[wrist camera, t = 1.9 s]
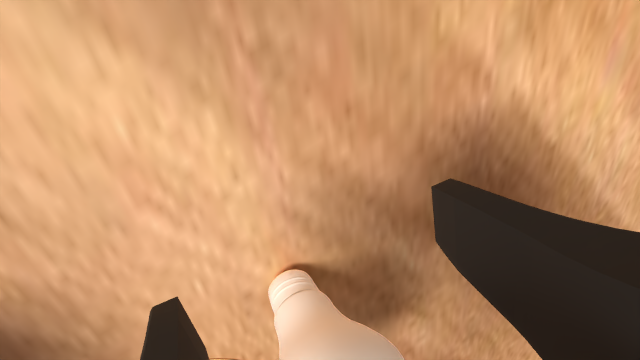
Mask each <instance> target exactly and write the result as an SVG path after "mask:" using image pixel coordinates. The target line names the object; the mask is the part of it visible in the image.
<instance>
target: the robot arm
mask: <svg viewBox="0 0 640 360" xmlns="http://www.w3.org/2000/svg"><path fill="white" fill-rule="evenodd" d="M432 200H433V212H434V225H435V238H436V242H437V244H438V245H439V246H440V248H441V249H442V251H443V252H444V253H445V255H446V256H447V257H448V259H449V260H450V261H451V262H452V264H453V265H454V266H455V267H456V269H457V270H458V271H459V272H460V273H461V274H462V275H463V276H464V277H465V278H466V279H467V280H468V281H469V282H470V283H471V284H472V285H473V286H474V287H475V288H476V289H477V290H478V291H479V292H480V293H481V294H482V295H483V296H484V297H485V298H486V299H487V300H488V301H489V302H490V303H491V304H492V305H493V306H494V307H495V308H496V309H497V310H498V311H499V312H500V313H501V314H502V315H503V316H504V317H505V318H506V319H507V320H508V321H509V322H510V323H511V324H512V325H513V326H514V327H515V328H516V329H517V330H518V331H519V332H520V334H521V335H522V336H523V337H524V338H525V339H526V340H527V341H528V343H529V344H530V345H531V346H532V347H533V349H534V350H535V351H536V352H537V353H538V355H539V356H540V357H541V358H542V360H640V232H634V231H628V230H622V229H617V228H612V227H607V226H603V225H598V224H594V223H589V222H585V221H581V220H577V219H573V218H569V217H565V216H562V215H558V214H555V213H551V212H548V211H544V210H541V209H538V208H535V207H532V206H528V205H525V204H522V203H519V202H516V201H513V200H511V199H508V198H505V197H502V196H499V195H496V194H493V193H491V192H488V191H485V190H482V189H480V188H477V187H474V186H471V185H468V184H465V183H463V182H460V181H456V180H453V179H448V180H446V181H444V182H441V183H439V184H437V185H434V186H432ZM140 360H209V358H208V354H207V351H206V348H205V346H204V344H203V342H202V340H201V339H200V337H199V335H198V333H197V331H196V329H195V328H194V326H193V324H192V322H191V320H190V319H189V317H188V315H187V313H186V311H185V310H184V308H183V306H182V304H181V302H180V301H179V299H178V297H175V298H173V299H170V300H168V301H166V302H163V303H161V304H159V305H156V306H154V307H153V308H152V309H151V311H150V315H149V321H148V326H147V332H146V337H145V341H144V346H143V350H142V354H141V358H140Z"/></svg>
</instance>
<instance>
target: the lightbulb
mask: <svg viewBox="0 0 640 360" xmlns="http://www.w3.org/2000/svg"><path fill="white" fill-rule="evenodd" d="M268 295H269V299H270V303H271V306H272V309H273V311H274V313H275V317H274V325H275V329H276V332H277V336H278V340H279V347H280V352H279V360H405V359H404V358H403V356H402V355H401V353H400V352H399V350H398V349H397V348H396V346H394V345H393V344H392V343H391V342H390V341H389V340H388V339H387V338H386V337H384V336H383V335H381V334H380V333H378V332H376V331H374V330H373V329H371V328H369V327H367V326H365V325H363V324H360V323H358V322H355V321H353V320H350V319H349V318H347V317H346V316H344V315H343V314H342V313H341V312H340V311H339V310H338V309H337V308H336V307H335V306H334V305H333V303H332V302H331V300H330V299H329V298H328V296H327V295H325V294H324V293H323V292H321V291H319V289H318V287H317V286H316V284H315V283H314V282H313V280H312V278H311V277H310V276H309V275H308V274H307V273H306V272H305V271H302V270H288V271H285V272H283V273H281V274H279V275H278V276H277V277H276V278H275V279H274V280H273V281H272V283H271V285H270V287H269V290H268Z"/></svg>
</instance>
